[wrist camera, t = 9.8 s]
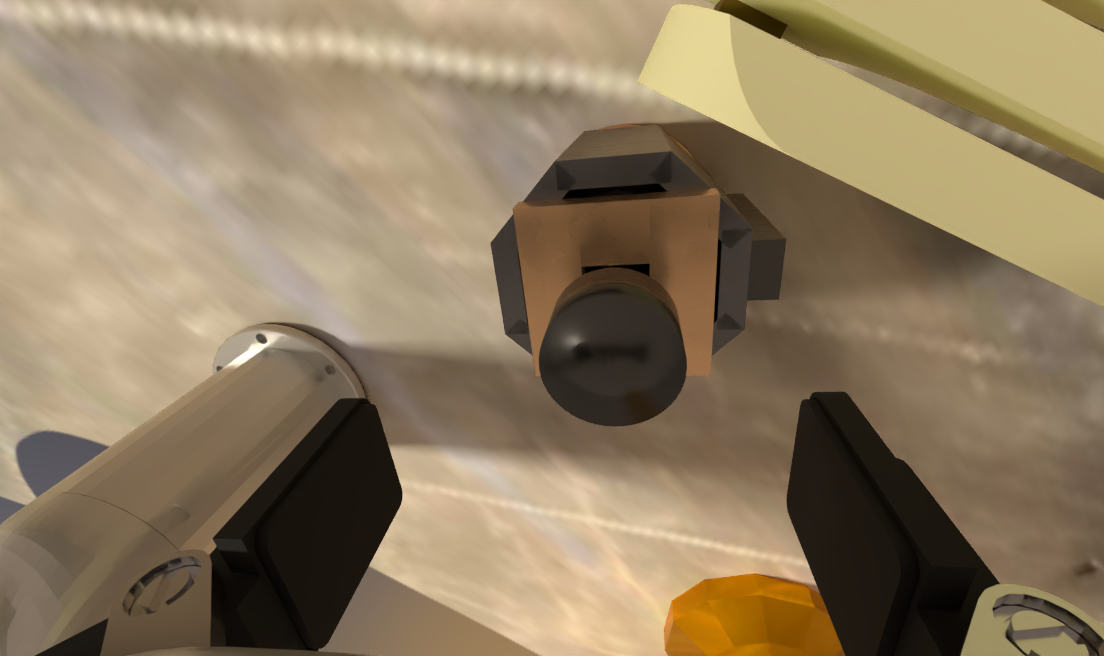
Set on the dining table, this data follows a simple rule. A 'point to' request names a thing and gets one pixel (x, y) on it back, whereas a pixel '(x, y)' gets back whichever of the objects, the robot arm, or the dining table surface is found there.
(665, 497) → the dining table surface
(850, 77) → the slatted curved stool
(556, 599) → the dining table surface
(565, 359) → the plunger
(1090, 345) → the dining table surface
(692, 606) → the yellow tall piece
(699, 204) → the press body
